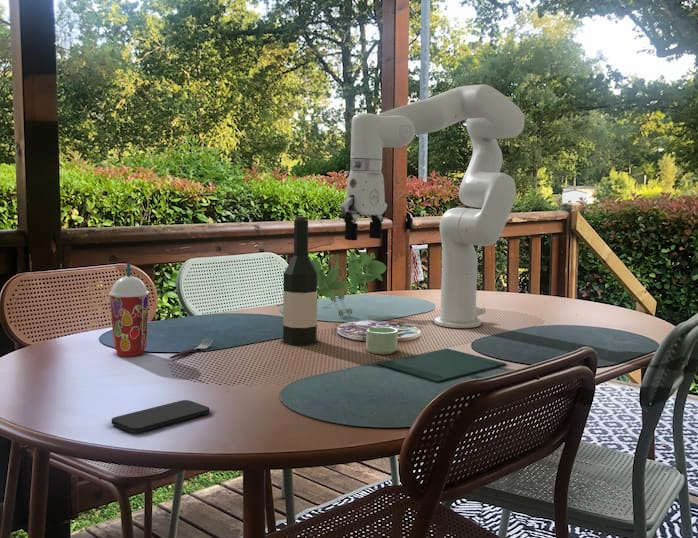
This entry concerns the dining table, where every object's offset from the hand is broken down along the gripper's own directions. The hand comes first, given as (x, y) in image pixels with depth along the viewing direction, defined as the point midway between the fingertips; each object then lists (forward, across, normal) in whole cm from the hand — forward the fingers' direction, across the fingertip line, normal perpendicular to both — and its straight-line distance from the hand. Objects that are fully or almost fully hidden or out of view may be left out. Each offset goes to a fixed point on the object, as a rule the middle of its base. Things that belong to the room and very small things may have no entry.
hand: (363, 239), depth 180 cm
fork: (+26, -35, +21) cm, 48 cm away
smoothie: (+26, -44, +30) cm, 59 cm away
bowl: (+25, -6, -10) cm, 27 cm away
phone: (+26, -68, -10) cm, 73 cm away
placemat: (+25, -7, -28) cm, 38 cm away
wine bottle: (+25, -11, +10) cm, 29 cm away
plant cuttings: (+25, +20, +25) cm, 41 cm away
